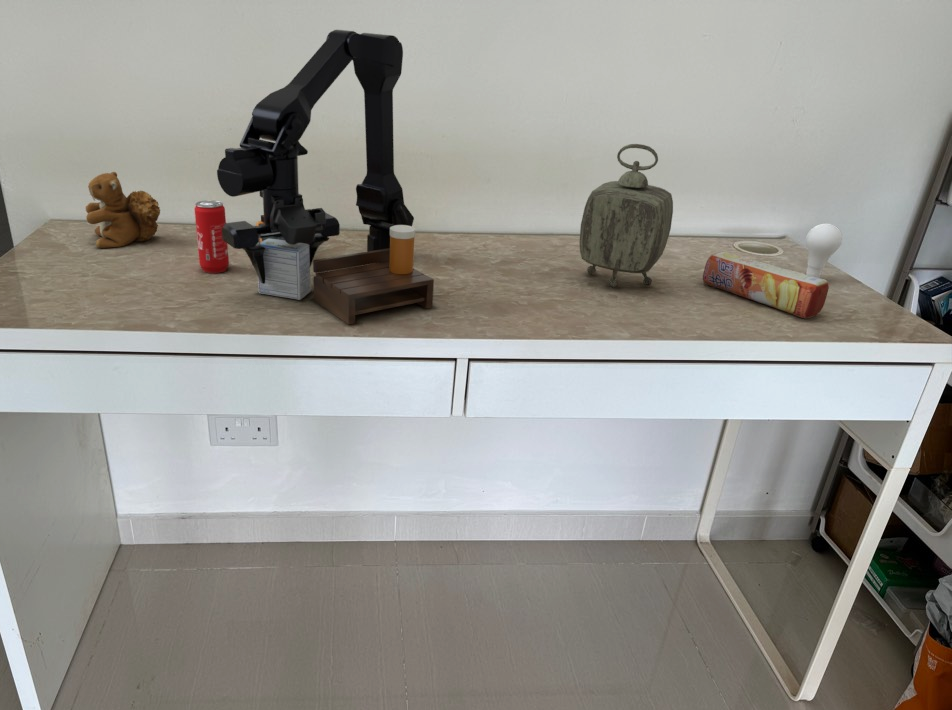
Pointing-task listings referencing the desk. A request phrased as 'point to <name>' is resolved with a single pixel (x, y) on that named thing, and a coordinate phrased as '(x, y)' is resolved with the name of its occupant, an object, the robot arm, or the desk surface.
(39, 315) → the desk surface
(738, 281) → the snack package
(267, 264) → the medicine box
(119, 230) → the stuffed squirrel
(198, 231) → the red soda can
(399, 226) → the pill bottle
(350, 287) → the rack
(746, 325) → the desk surface
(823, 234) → the lightbulb
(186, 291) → the desk surface
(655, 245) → the tabletop clock
